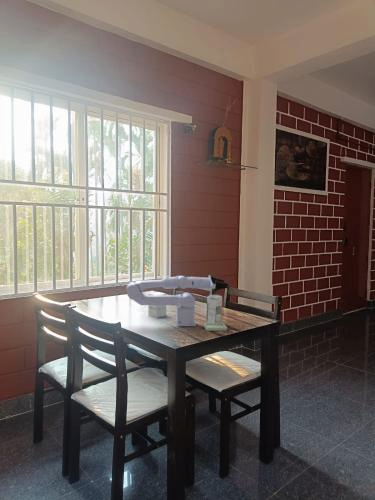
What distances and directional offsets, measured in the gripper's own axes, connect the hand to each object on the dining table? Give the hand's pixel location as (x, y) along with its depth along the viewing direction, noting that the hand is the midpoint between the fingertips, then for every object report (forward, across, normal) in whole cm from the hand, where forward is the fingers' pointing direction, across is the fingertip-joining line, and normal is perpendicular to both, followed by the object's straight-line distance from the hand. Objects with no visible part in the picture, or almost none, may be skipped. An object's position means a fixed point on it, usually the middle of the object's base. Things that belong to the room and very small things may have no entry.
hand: (225, 284), depth 189 cm
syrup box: (-4, -1, +21) cm, 22 cm away
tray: (-6, -9, +20) cm, 23 cm away
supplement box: (-32, +17, +24) cm, 44 cm away
